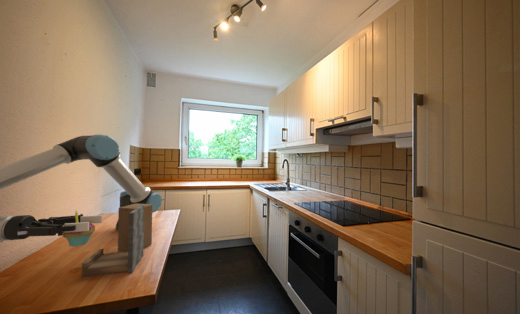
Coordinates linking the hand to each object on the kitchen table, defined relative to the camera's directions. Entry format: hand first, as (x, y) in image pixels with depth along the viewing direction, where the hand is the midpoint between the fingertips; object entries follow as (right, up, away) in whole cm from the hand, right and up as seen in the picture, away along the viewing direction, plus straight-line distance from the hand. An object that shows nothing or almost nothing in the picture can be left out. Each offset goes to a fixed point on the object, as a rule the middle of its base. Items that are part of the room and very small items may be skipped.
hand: (95, 222), depth 71 cm
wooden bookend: (+1, -20, +8) cm, 21 cm away
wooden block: (-1, -20, +25) cm, 32 cm away
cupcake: (-5, -7, -1) cm, 9 cm away
